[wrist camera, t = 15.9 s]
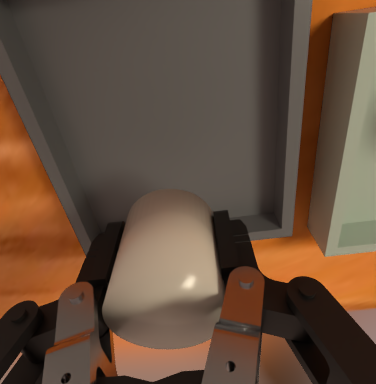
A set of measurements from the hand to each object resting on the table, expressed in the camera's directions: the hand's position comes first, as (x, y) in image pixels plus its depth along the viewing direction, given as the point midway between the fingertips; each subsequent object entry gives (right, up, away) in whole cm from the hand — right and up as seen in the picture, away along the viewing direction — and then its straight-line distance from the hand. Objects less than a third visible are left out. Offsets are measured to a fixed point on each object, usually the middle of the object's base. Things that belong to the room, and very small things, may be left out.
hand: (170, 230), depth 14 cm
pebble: (0, 0, 0) cm, 0 cm away
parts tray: (0, +7, +5) cm, 8 cm away
